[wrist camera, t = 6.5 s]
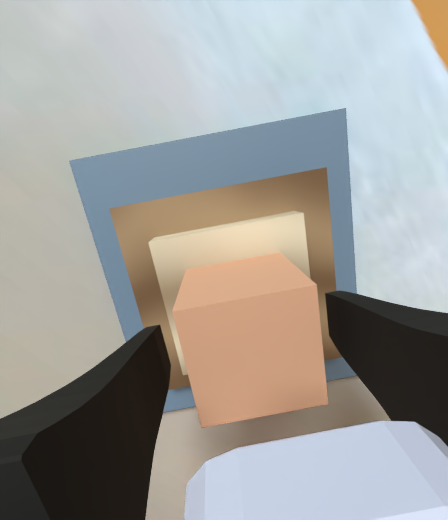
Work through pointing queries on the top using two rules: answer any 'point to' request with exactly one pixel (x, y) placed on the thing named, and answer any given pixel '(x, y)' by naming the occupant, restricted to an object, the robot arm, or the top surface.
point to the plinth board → (212, 172)
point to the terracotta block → (251, 339)
